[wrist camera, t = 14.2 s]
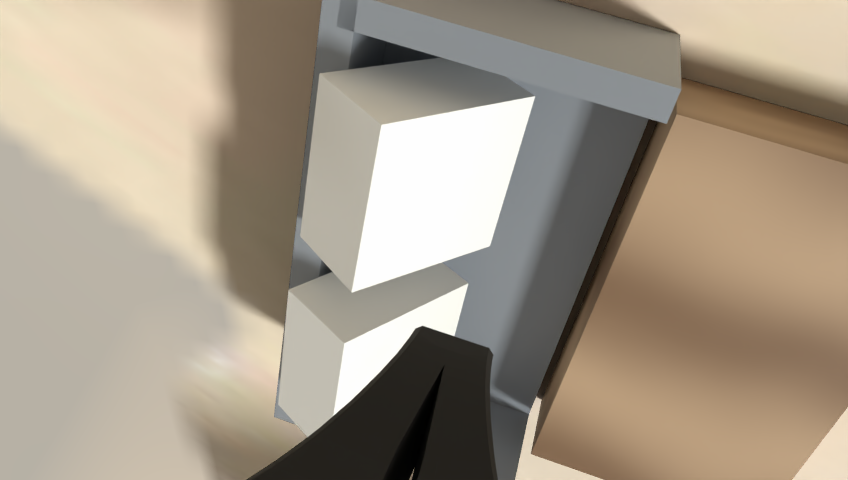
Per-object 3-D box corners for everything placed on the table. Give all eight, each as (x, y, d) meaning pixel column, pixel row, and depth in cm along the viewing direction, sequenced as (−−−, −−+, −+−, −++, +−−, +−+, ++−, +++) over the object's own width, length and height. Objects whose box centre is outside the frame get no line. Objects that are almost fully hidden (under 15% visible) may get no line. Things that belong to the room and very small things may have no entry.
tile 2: (326, 458, 21) (277, 404, 23) (439, 391, 24) (390, 346, 26) (344, 343, 19) (288, 289, 20) (468, 283, 22) (412, 239, 23)
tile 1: (351, 292, 18) (300, 236, 19) (489, 246, 21) (436, 199, 22) (381, 124, 15) (319, 73, 17) (535, 95, 18) (470, 53, 19)
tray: (525, 417, 26) (507, 500, 24) (316, 345, 27) (274, 416, 24) (680, 34, 18) (681, 89, 15) (376, -51, 19) (323, -15, 16)
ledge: (745, 470, 25) (752, 531, 23) (541, 400, 26) (530, 453, 24) (964, 159, 18) (999, 208, 16) (676, 76, 19) (676, 114, 17)
